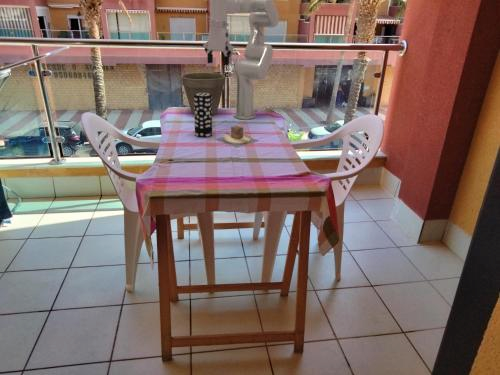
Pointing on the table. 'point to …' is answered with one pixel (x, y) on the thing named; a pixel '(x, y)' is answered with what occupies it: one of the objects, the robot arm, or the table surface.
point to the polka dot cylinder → (203, 114)
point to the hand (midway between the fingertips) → (218, 64)
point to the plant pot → (204, 87)
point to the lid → (236, 136)
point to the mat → (235, 144)
